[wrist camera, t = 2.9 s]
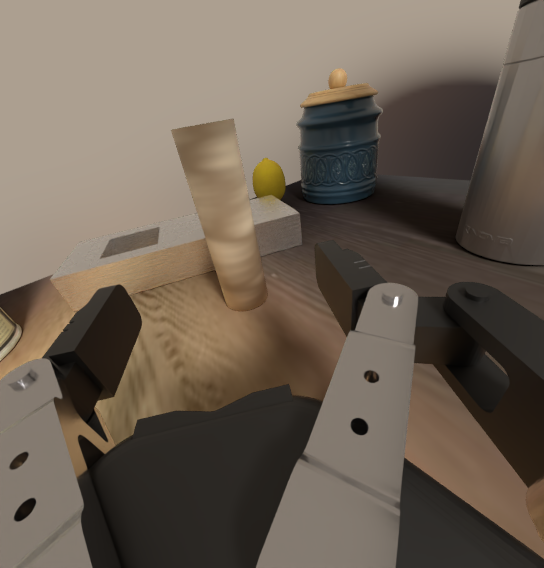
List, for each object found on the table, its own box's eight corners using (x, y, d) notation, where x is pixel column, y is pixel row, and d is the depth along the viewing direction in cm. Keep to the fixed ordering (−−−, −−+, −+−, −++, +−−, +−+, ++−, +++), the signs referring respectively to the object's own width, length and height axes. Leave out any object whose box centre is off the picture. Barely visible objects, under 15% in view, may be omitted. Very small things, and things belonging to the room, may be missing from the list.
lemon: (264, 214, 43) (255, 163, 38) (253, 207, 47) (244, 160, 43) (293, 206, 44) (288, 155, 40) (280, 199, 48) (274, 153, 44)
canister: (290, 195, 50) (278, 82, 40) (345, 180, 53) (346, 71, 43) (327, 211, 39) (324, 64, 30) (393, 191, 43) (409, 52, 33)
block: (275, 220, 39) (271, 194, 37) (302, 244, 31) (299, 212, 29) (96, 268, 34) (79, 241, 32) (74, 311, 26) (49, 279, 24)
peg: (260, 280, 26) (227, 119, 18) (273, 302, 23) (239, 117, 15) (222, 292, 25) (170, 129, 17) (230, 316, 22) (171, 129, 14)
